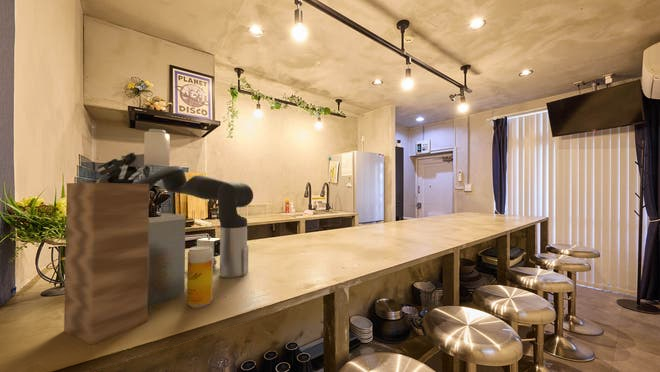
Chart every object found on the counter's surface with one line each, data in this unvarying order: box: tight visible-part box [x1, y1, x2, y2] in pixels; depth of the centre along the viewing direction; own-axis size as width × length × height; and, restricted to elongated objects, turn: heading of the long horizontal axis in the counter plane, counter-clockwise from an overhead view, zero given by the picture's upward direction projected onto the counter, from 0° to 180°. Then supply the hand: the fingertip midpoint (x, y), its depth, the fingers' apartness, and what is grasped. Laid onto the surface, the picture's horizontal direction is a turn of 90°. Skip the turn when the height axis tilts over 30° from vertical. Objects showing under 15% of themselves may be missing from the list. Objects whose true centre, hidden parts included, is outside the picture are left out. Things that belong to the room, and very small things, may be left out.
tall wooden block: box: [63, 182, 150, 346], centre depth 57 cm, size 12×10×32 cm
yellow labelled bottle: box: [186, 246, 214, 309], centre depth 68 cm, size 6×6×15 cm
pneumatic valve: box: [192, 235, 220, 267], centre depth 101 cm, size 6×12×12 cm, turn 78°
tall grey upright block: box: [147, 213, 186, 309], centre depth 72 cm, size 10×10×23 cm
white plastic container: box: [120, 128, 171, 167], centre depth 75 cm, size 18×6×10 cm, turn 65°
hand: (140, 156), depth 76 cm, fingers closed on white plastic container, 3 cm apart
